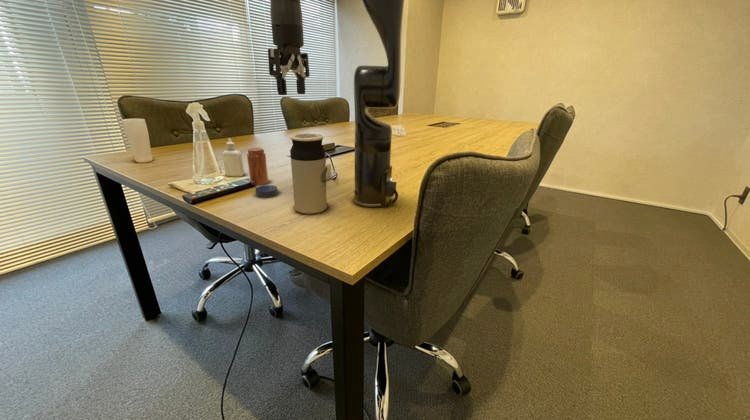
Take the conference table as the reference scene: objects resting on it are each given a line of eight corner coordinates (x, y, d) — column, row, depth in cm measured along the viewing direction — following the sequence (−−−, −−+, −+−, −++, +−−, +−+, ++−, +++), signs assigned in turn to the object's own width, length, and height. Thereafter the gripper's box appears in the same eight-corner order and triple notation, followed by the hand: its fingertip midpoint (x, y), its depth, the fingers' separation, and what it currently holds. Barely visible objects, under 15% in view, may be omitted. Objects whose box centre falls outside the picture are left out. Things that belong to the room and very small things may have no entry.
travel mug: (288, 211, 74) (281, 137, 67) (306, 200, 81) (302, 132, 74) (316, 217, 72) (312, 140, 65) (332, 205, 79) (330, 135, 71)
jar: (271, 181, 96) (268, 148, 91) (262, 186, 91) (257, 151, 87) (257, 179, 97) (253, 146, 93) (247, 184, 92) (242, 150, 88)
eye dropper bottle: (235, 178, 97) (229, 140, 92) (223, 175, 100) (217, 138, 95) (246, 175, 101) (241, 138, 96) (235, 172, 103) (229, 136, 98)
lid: (251, 194, 84) (251, 189, 83) (268, 189, 89) (267, 183, 88) (266, 199, 81) (265, 193, 81) (282, 193, 86) (281, 187, 85)
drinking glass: (128, 162, 110) (115, 120, 104) (144, 158, 116) (133, 118, 110) (144, 164, 109) (133, 121, 103) (160, 159, 115) (149, 118, 109)
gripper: (291, 29, 82) (295, 93, 89) (254, 19, 70) (263, 94, 76) (315, 28, 80) (318, 94, 86) (282, 18, 68) (288, 96, 74)
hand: (292, 94), depth 81 cm, fingers open, 8 cm apart
